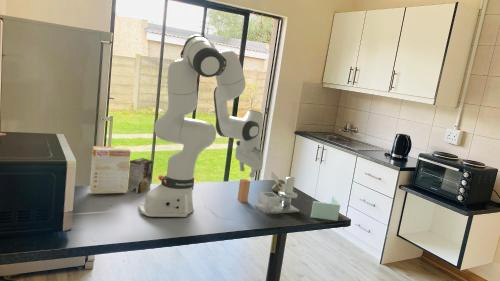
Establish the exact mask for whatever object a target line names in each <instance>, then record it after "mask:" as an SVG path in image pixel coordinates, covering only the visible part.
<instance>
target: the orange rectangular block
mask: <svg viewBox="0 0 500 281" xmlns="http://www.w3.org/2000/svg"><path fill="white" fill-rule="evenodd" d="M238 185H239V186H238V193H237V199H236V200H238V201H239V202H240V203H248V201H249V200H248V199H249V195H250V194H249V192H250V187H251V186H250V185H251V180H249V179H247V178H245V179H240V178H239V183H238Z"/></svg>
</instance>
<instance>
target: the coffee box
mask: <svg viewBox="0 0 500 281" xmlns="http://www.w3.org/2000/svg"><path fill="white" fill-rule="evenodd" d="M153 162H154V161H153V160H151V159H147V158H144V157H141V158H137V159H132V160H130V162H129V174H128V187H127V192H129V193H134V194H141V193H144V192H146V191H149V190H151V183H152V172H153V164H154V163H153Z"/></svg>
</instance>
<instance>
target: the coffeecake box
mask: <svg viewBox="0 0 500 281" xmlns="http://www.w3.org/2000/svg"><path fill="white" fill-rule="evenodd" d="M130 161H131V149H130V147H128V146H107V145H105V146H103V145H102V146H98V145H93V146H92V151H91V165H90V179H89V191H90V194H92V195H93V194H95V195H96V194H127V193H128V191H127V189H128V178H129V168H130Z"/></svg>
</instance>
